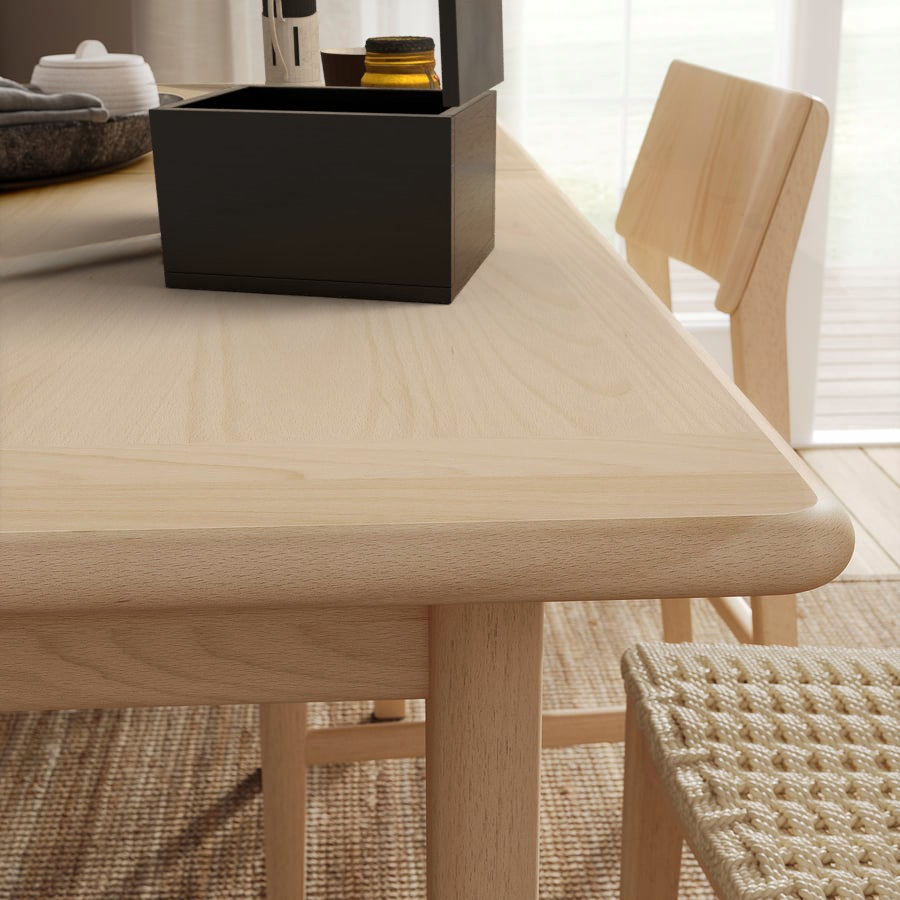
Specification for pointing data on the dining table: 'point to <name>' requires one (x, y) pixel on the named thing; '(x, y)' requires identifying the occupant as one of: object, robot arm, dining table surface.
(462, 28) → the lid
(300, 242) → the dark wooden box
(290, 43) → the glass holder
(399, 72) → the condiment
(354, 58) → the coffee mug
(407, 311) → the dining table surface
